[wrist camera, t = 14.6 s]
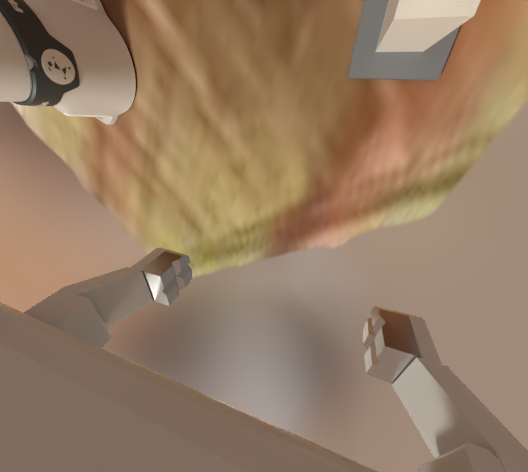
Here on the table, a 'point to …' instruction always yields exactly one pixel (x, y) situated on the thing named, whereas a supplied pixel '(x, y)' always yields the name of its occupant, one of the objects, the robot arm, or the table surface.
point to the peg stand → (393, 63)
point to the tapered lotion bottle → (421, 23)
